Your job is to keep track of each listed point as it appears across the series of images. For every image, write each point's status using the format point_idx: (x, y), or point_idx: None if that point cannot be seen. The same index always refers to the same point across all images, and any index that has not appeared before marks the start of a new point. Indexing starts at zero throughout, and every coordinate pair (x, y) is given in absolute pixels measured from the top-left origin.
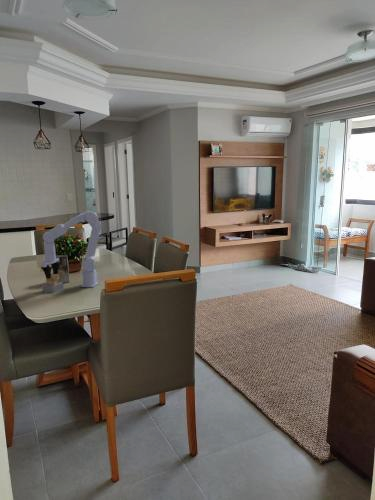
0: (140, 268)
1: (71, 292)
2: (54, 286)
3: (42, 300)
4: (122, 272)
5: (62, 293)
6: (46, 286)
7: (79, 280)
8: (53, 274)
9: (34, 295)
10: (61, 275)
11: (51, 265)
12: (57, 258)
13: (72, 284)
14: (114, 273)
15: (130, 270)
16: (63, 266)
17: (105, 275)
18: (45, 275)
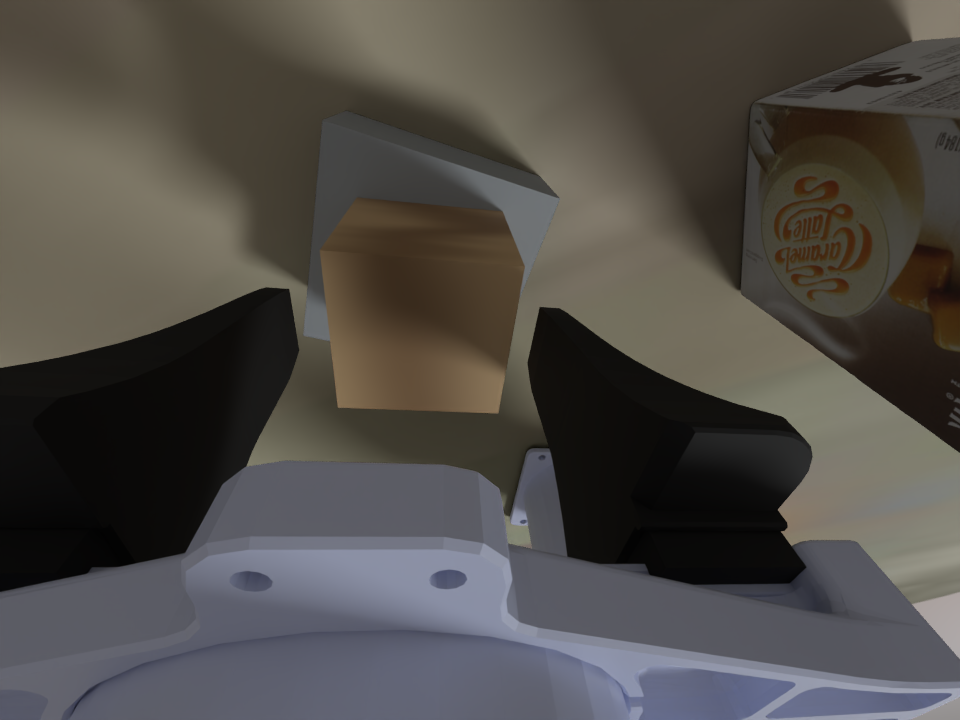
0: (921, 596)
1: (367, 438)
2: (324, 335)
3: (27, 295)
4: (876, 552)
5: (320, 384)
6: (317, 212)
7: (772, 367)
8: (476, 344)
9: (123, 74)
10: (814, 252)
11: (627, 406)
12: (891, 705)
13: (631, 357)
14: (878, 523)
15: (904, 571)
16: (952, 373)
17: (850, 493)
18: (223, 305)
